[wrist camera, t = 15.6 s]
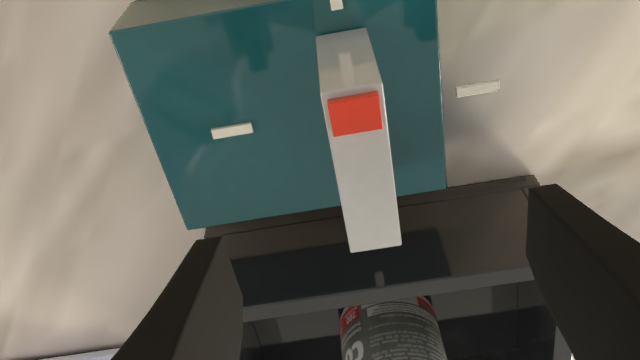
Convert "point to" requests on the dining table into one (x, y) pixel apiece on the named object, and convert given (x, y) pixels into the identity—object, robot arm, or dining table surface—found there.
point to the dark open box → (397, 276)
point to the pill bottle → (391, 331)
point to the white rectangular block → (359, 138)
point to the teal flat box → (275, 99)
